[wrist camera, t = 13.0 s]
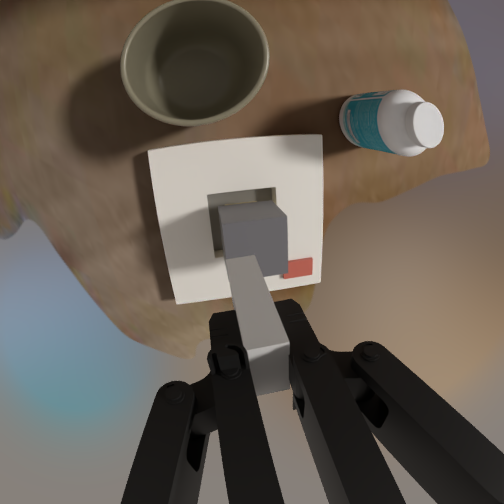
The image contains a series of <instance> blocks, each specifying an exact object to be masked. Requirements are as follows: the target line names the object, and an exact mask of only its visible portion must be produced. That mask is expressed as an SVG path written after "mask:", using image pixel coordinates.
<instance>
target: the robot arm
mask: <svg viewBox="0 0 504 504" xmlns="http://www.w3.org/2000/svg"><path fill="white" fill-rule="evenodd" d="M226 263H227V270H228V276H229V282H230V289H231V295H232V301H233V306H234V310H231V311H225V312H219V313H213V315H212V317H211V319H210V321H209V328H210V340H211V350H210V352H209V353H208V356H207V360H208V364H209V367H210V370H211V371H210V373H209V374H208V375H207V376H206V377H205V378H204V379H202V380H200V381H198V382H196V383H193V384H191V385H189V384H187V383H186V382H182V381H171V382H169V383H166V384H165V385H163V386H162V387H161V388H160V389H159V390H158V392H157V394H156V397H155V399H154V402H153V405H152V408H151V411H150V414H149V417H148V420H147V423H146V426H145V428H144V431H143V435H142V437H141V440H140V444H139V446H138V449H137V452H136V456H135V459H134V462H133V465H132V468H131V471H130V474H129V478H128V481H127V484H126V488H125V491H124V494H123V498H122V501H121V504H197V502H198V497H199V491H200V485H201V480H202V474H203V468H204V463H205V458H206V452H207V446H208V441H209V436H210V432H213V431H215V430H217V429H218V434H219V440H220V448H221V455H222V462H223V469H224V476H225V481H226V488H227V494H228V499H229V504H284V500H283V497H282V493H281V489H280V486H279V483H278V478H277V475H276V471H275V467H274V464H273V460H272V456H271V452H270V448H269V444H268V440H267V436H266V433H265V428H264V424H263V420H262V416H261V412H260V408H259V404H258V400H257V396H259V395H264V394H269V393H273V392H278V391H283V390H287V389H290V384H291V387H292V390H293V410H295V409H297V412H298V415H299V418H300V421H301V424H302V427H303V430H304V432H305V436H306V438H307V441H308V444H309V447H310V450H311V453H312V456H313V459H314V462H315V464H316V467H317V470H318V473H319V476H320V478H321V482H322V484H323V487H324V490H325V493H326V496H327V499H328V502H329V504H406V503H405V501H404V498H403V496H402V494H401V492H400V490H399V488H398V486H397V484H396V482H395V480H394V477H393V475H392V473H391V471H390V469H389V467H388V465H387V463H386V461H385V459H384V457H383V455H382V453H381V451H380V449H379V447H378V445H377V443H376V441H375V439H374V437H373V434H374V435H375V436H376V438H377V439H378V440H379V441H380V442H381V443H382V444H383V445H384V447H385V448H386V449H387V450H388V451H389V452H390V453H391V454H392V455H393V456H394V458H396V460H397V461H398V462H399V463H400V464H401V465H402V466H403V467H404V468H405V470H407V472H408V473H409V474H410V475H411V476H412V477H413V478H414V479H415V480H416V481H417V482H418V483H419V485H420V486H421V487H422V488H423V489H424V490H425V491H426V492H427V493H428V494H429V495H430V496H431V497H432V498H433V499H434V500H435V502H436V503H437V504H504V454H503V453H502V452H501V451H500V450H499V449H498V448H497V447H496V446H495V445H494V444H492V443H491V442H490V441H489V440H488V439H487V438H486V437H485V436H484V435H483V434H481V433H480V432H479V431H478V430H477V429H476V428H475V427H474V426H473V425H472V424H471V423H469V422H468V421H467V420H466V419H465V418H464V417H463V416H462V415H461V414H460V413H458V412H457V411H456V410H455V409H454V408H453V407H451V405H449V404H448V403H447V402H446V401H445V400H444V399H443V398H442V397H441V396H439V395H438V394H437V393H436V392H435V391H434V390H433V389H431V388H430V387H429V386H428V385H427V384H426V383H425V382H424V381H423V380H421V379H420V378H419V377H418V376H417V375H416V374H415V373H413V372H412V371H411V370H410V369H409V368H408V367H407V366H405V365H404V364H403V363H402V362H401V361H400V360H399V359H397V358H396V357H395V356H394V355H393V354H392V353H390V352H389V351H388V350H387V349H386V348H385V347H384V346H382V345H381V344H379V343H376V342H373V341H365V342H362V343H359V344H358V345H357V346H356V347H354V349H353V352H336V351H331V350H329V349H328V348H327V347H326V346H324V345H322V344H320V343H319V341H318V339H317V337H316V335H315V333H314V331H313V330H312V328H311V326H310V324H309V322H308V320H307V318H306V316H305V314H304V312H303V310H302V308H301V306H300V304H298V303H297V302H295V301H294V300H293V299H288V300H283V301H277V302H273V299H272V297H271V294H270V292H269V289H268V287H267V284H266V282H265V280H264V277H263V275H262V272H261V270H260V267H259V265H258V262H257V260H256V257H255V255H251V256H245V257H238V258H232V259H226ZM372 433H373V434H372Z"/></svg>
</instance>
